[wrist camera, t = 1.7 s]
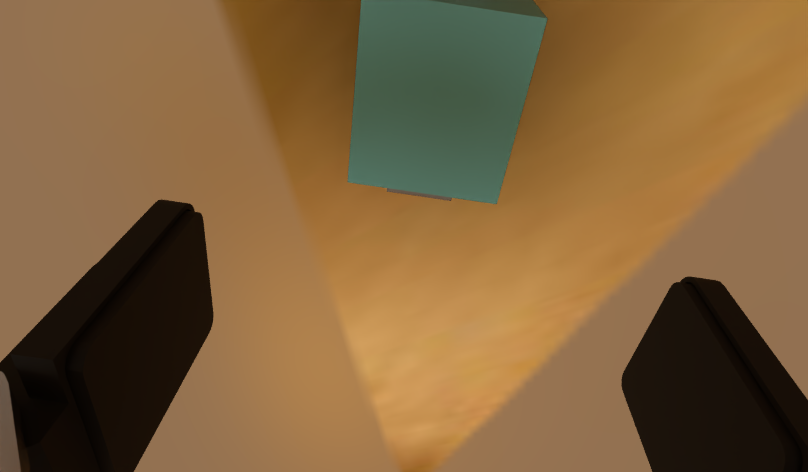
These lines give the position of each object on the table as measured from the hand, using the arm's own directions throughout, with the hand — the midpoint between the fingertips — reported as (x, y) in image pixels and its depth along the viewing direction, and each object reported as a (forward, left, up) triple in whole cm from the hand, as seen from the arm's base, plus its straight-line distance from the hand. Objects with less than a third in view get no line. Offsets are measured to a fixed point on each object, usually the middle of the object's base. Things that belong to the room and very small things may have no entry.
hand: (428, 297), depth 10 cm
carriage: (0, 0, -17) cm, 17 cm away
